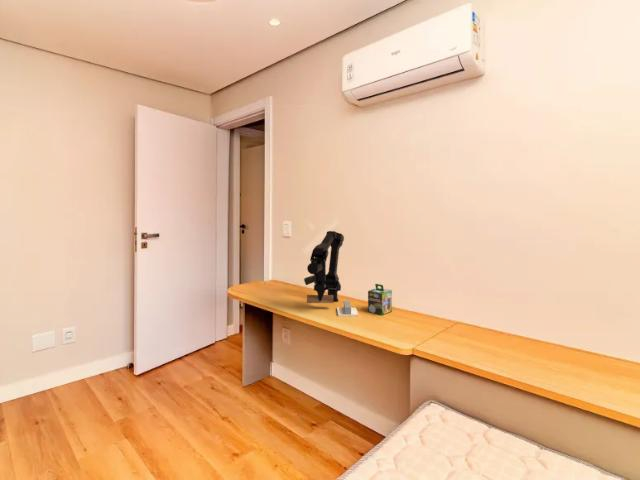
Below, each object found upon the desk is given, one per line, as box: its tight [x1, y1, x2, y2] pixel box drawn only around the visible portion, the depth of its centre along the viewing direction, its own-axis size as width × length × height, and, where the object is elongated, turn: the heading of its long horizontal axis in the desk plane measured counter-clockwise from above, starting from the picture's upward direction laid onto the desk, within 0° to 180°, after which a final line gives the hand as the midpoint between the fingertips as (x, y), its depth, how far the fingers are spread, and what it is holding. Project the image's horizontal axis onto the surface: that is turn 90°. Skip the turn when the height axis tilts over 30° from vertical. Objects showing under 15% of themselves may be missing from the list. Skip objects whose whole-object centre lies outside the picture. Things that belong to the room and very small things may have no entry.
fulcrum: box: [336, 300, 359, 317], centre depth 181 cm, size 12×10×4 cm
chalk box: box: [367, 283, 393, 316], centre depth 183 cm, size 9×9×15 cm
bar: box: [306, 294, 334, 304], centre depth 187 cm, size 3×14×4 cm, turn 89°
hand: (320, 299), depth 187 cm, fingers closed on bar, 3 cm apart
